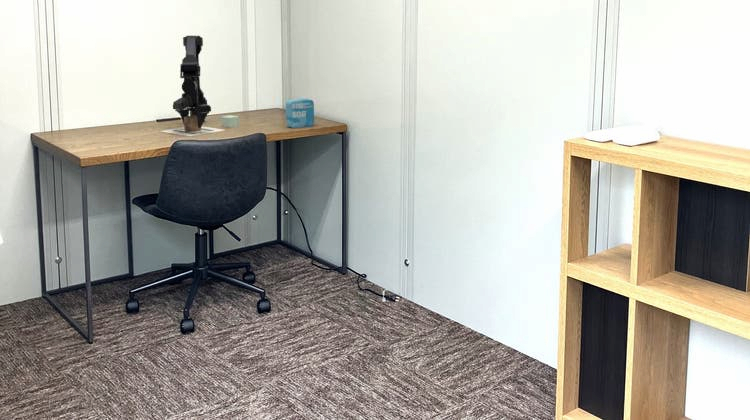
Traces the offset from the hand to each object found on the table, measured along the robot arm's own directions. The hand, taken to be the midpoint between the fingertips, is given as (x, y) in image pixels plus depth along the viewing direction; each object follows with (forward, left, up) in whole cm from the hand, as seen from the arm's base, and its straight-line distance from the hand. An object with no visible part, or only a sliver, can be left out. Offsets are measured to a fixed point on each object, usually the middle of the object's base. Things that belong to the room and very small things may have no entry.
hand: (192, 127), depth 396 cm
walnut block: (0, 0, -2) cm, 2 cm away
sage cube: (+4, +18, -3) cm, 19 cm away
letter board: (0, 0, -2) cm, 2 cm away
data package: (+24, +42, -3) cm, 48 cm away
